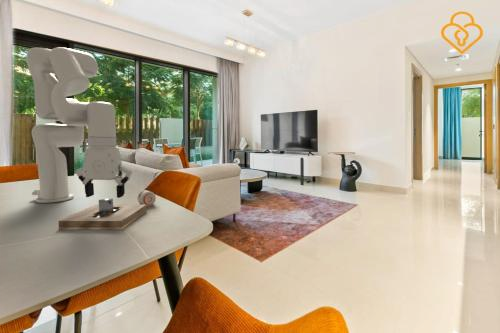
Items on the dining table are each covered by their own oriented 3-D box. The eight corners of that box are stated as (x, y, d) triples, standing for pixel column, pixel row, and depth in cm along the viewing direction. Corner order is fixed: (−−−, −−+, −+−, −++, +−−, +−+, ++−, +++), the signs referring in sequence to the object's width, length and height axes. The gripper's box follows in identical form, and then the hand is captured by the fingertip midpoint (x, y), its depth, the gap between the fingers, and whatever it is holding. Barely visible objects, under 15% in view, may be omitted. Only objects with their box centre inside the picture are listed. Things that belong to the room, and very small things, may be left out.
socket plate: (58, 229, 73) (58, 220, 73) (96, 211, 91) (95, 204, 91) (122, 229, 73) (121, 220, 73) (146, 211, 91) (146, 204, 91)
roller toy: (136, 206, 99) (135, 191, 98) (152, 203, 103) (151, 188, 102) (141, 208, 96) (140, 193, 95) (157, 205, 100) (156, 190, 99)
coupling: (108, 213, 87) (107, 196, 86) (120, 213, 87) (119, 196, 86) (92, 222, 78) (90, 203, 77) (105, 222, 78) (104, 203, 77)
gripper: (66, 142, 76) (69, 198, 78) (124, 144, 76) (126, 200, 78) (82, 141, 83) (85, 193, 85) (135, 143, 83) (137, 194, 86)
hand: (105, 196), depth 82 cm, fingers open, 9 cm apart
